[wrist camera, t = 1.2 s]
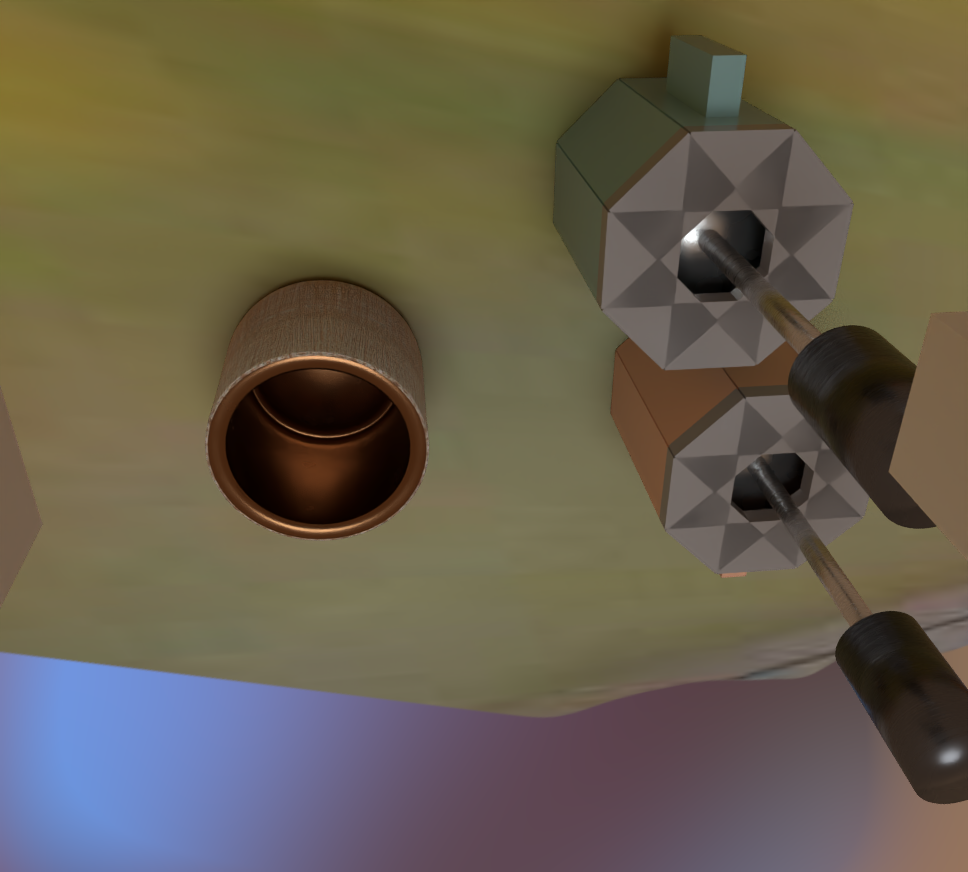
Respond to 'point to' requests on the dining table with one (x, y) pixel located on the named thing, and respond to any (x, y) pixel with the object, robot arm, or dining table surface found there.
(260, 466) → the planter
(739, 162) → the pot teal
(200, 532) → the dining table surface
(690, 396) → the pot terracotta
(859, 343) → the dark brown cylinder-topped rod
